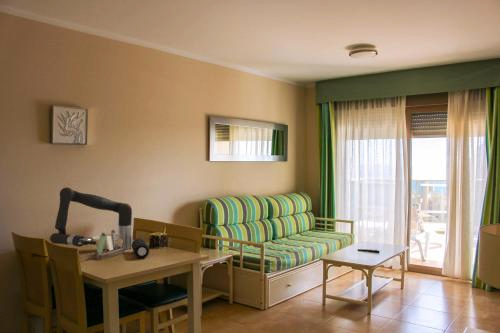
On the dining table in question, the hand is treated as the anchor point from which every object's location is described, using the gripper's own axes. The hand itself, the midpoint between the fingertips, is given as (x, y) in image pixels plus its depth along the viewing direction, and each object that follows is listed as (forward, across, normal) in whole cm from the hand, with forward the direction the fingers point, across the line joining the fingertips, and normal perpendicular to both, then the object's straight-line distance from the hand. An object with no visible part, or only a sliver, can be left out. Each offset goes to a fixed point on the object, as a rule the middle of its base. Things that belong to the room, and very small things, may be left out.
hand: (95, 242), depth 283 cm
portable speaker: (+21, +20, +10) cm, 31 cm away
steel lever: (+3, +17, +7) cm, 19 cm away
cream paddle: (+3, +11, +7) cm, 13 cm away
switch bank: (+3, +8, +10) cm, 13 cm away
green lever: (+3, 0, +7) cm, 7 cm away
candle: (+15, +51, +10) cm, 54 cm away
